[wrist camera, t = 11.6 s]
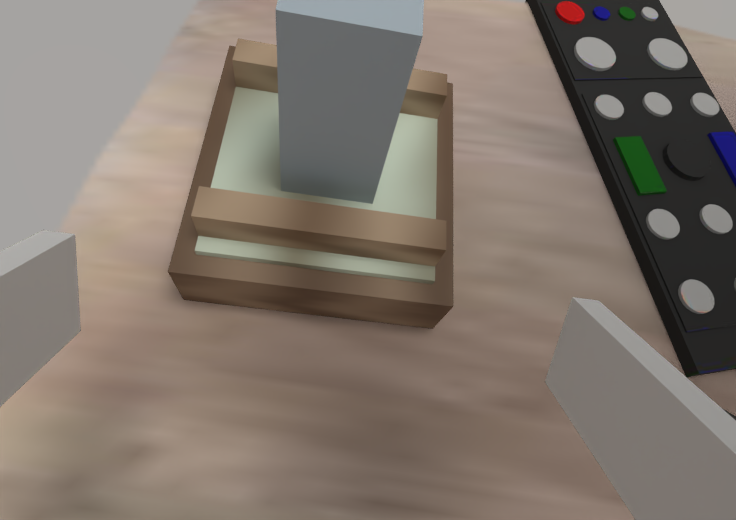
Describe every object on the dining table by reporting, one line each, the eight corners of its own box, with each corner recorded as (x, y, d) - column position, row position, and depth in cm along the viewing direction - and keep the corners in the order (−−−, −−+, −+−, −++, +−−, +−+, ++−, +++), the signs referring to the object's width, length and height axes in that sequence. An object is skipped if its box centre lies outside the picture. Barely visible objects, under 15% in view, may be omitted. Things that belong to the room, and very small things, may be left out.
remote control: (642, 6, 42) (657, -15, 40) (833, 353, 30) (868, 344, 28) (523, 5, 39) (534, -18, 38) (679, 378, 27) (706, 371, 26)
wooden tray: (436, 123, 32) (464, 54, 27) (432, 328, 26) (468, 289, 21) (236, 91, 31) (225, 11, 25) (183, 299, 25) (155, 250, 19)
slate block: (378, 131, 26) (425, -55, 17) (372, 203, 24) (422, 35, 15) (293, 118, 25) (296, -81, 16) (280, 190, 23) (275, 10, 15)
